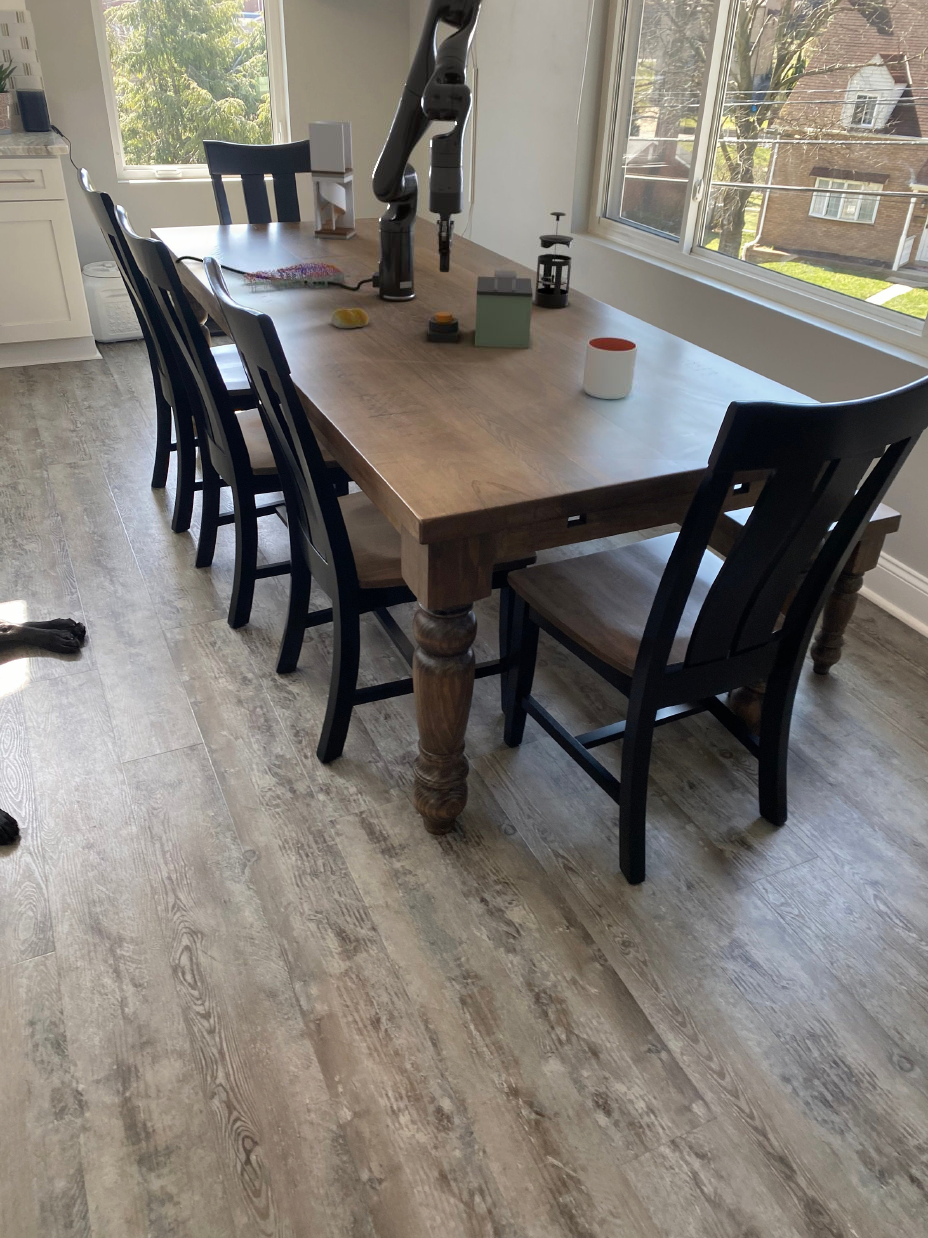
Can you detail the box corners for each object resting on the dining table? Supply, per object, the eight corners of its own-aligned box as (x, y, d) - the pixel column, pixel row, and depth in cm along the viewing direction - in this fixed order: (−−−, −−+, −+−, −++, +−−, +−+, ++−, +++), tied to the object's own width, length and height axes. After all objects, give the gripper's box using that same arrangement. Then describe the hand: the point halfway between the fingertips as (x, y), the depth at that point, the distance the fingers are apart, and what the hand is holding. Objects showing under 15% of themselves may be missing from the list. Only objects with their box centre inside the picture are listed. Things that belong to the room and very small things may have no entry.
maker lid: (532, 296, 200) (534, 273, 198) (476, 294, 201) (477, 271, 198) (530, 281, 212) (532, 259, 210) (477, 279, 213) (478, 257, 210)
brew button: (451, 323, 210) (451, 316, 209) (434, 322, 210) (434, 315, 209) (452, 319, 213) (452, 311, 212) (435, 318, 213) (435, 310, 212)
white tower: (315, 237, 311) (308, 122, 291) (324, 231, 319) (318, 120, 300) (346, 239, 309) (342, 124, 290) (354, 233, 318) (350, 121, 299)
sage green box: (528, 348, 208) (532, 295, 201) (474, 346, 208) (476, 293, 201) (527, 331, 219) (530, 282, 212) (475, 329, 219) (477, 279, 213)
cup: (577, 384, 187) (582, 336, 181) (624, 384, 188) (630, 337, 182) (587, 401, 178) (592, 351, 173) (636, 401, 179) (643, 351, 174)
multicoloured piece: (249, 294, 241) (247, 274, 238) (236, 281, 253) (234, 262, 250) (354, 286, 252) (353, 267, 249) (337, 275, 264) (337, 256, 261)
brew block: (457, 343, 209) (457, 325, 207) (427, 341, 209) (427, 324, 207) (458, 331, 218) (459, 314, 215) (430, 330, 218) (430, 313, 216)
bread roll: (374, 326, 219) (374, 309, 217) (341, 330, 215) (341, 313, 213) (358, 318, 225) (358, 301, 223) (326, 322, 221) (325, 305, 218)
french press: (573, 308, 239) (582, 215, 227) (539, 309, 238) (546, 215, 225) (560, 297, 249) (568, 208, 236) (528, 298, 247) (534, 208, 235)
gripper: (462, 193, 190) (459, 278, 200) (464, 184, 201) (461, 265, 211) (427, 192, 190) (426, 277, 200) (430, 183, 201) (430, 264, 211)
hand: (444, 270), depth 205 cm, fingers closed
